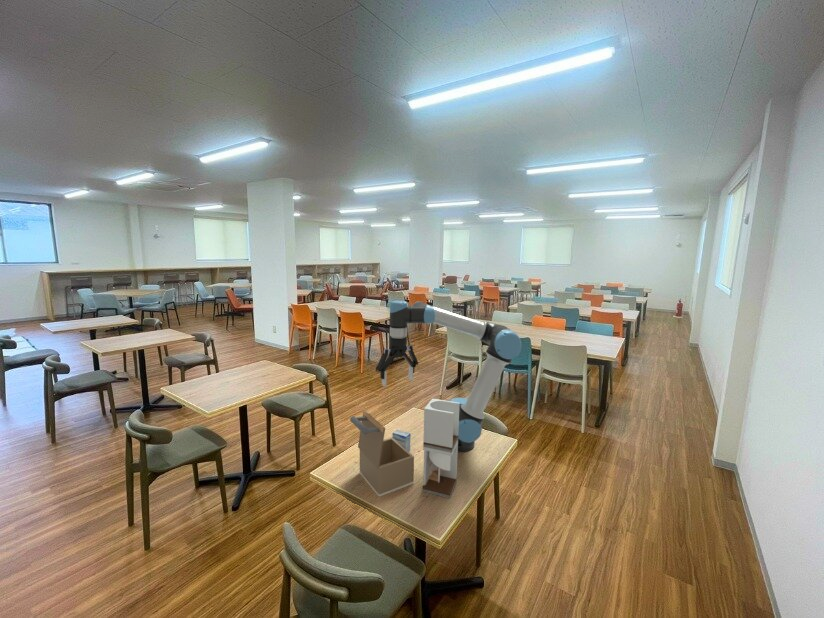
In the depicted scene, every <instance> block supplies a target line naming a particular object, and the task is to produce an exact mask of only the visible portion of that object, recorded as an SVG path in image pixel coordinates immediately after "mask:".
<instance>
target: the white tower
mask: <svg viewBox="0 0 824 618" xmlns="http://www.w3.org/2000/svg"><path fill="white" fill-rule="evenodd" d="M459 404H460V403H458V402H452V401H450V400H446V399H445V400H444V399H438V398H431V400H430V401H429V402H428V403H427V404H426V406H424V408H423V410H424V411H423V438H422V439H423V441H422V442H423V443H422V444H423V446H422V447H423V448H422V450H423V475H422V476H423V479H422V480H423V482H422V483H423V484H422V487H421V489H422V490H421V492H424V493H428V494H431V495H435V496H439V497H443V498H446V499H451V498H452V494H453V492H454V490H455V487H456V485H457V476H458V453H459V451H458V429H459ZM455 484H456V485H455ZM453 489H454V490H453Z"/></svg>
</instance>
